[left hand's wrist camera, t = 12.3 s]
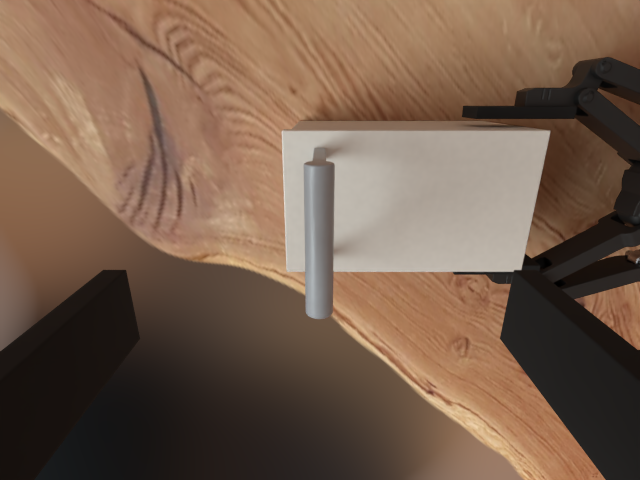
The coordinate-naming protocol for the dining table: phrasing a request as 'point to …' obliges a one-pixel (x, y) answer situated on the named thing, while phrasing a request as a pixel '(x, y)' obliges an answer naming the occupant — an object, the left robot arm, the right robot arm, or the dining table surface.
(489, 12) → the dining table surface
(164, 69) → the dining table surface
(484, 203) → the lid
